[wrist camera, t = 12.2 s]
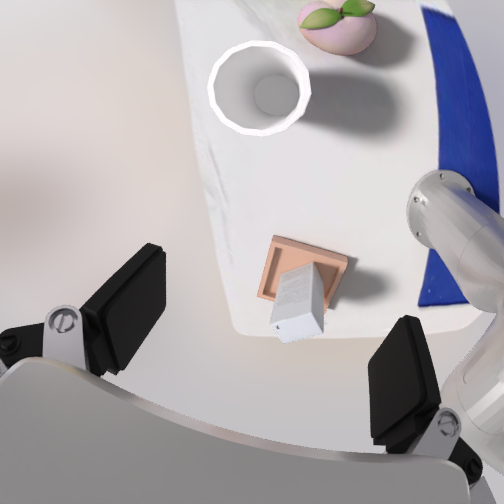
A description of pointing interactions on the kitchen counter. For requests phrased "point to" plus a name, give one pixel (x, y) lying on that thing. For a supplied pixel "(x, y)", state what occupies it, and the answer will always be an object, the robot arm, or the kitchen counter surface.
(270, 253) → the tray
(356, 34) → the decorative fruit
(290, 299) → the skincare box
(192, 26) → the kitchen counter surface
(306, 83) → the foam cup
